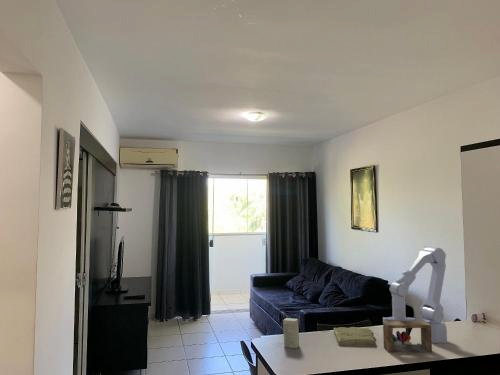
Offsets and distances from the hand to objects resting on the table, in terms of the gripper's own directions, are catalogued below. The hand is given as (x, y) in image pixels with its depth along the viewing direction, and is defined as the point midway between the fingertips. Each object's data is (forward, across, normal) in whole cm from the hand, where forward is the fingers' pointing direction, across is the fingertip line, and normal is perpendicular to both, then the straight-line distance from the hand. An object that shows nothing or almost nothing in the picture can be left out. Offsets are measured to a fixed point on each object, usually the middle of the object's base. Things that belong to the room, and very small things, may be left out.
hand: (399, 338), depth 177 cm
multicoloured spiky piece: (+3, +2, +5) cm, 6 cm away
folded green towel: (+3, +19, -7) cm, 20 cm away
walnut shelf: (+2, 0, +7) cm, 8 cm away
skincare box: (+3, +50, +3) cm, 51 cm away
